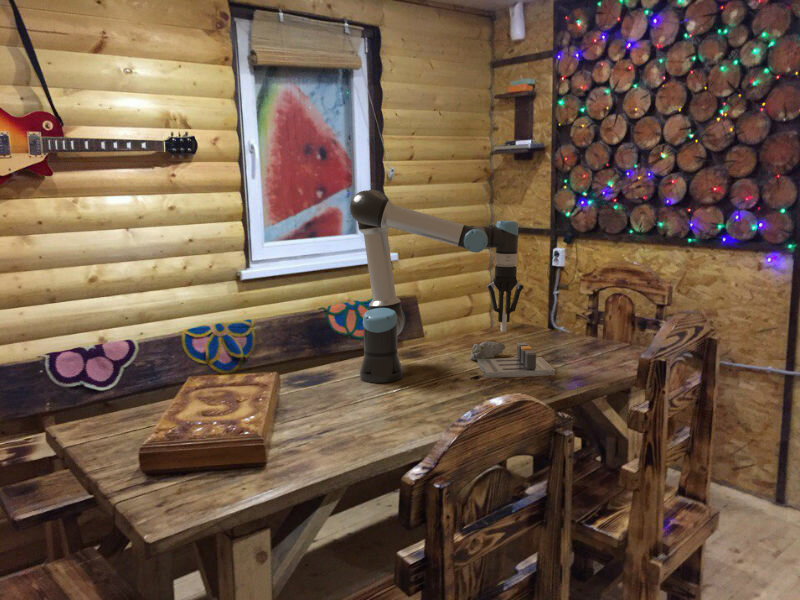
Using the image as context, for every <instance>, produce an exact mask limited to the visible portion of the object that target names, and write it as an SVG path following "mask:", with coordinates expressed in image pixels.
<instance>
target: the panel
mask: <svg viewBox="0 0 800 600" xmlns="http://www.w3.org/2000/svg"><path fill="white" fill-rule="evenodd" d="M477 366H478V368H479V369H480V371H481V372H482V374H483V375H484V377H485V378H486V379H497V378H499V379H500V378H519V377H520V378H521V377H522V378H523V377H524V378H525V377H544V376H545V377H547V376H549V375H552V376H556V369H555V368H554V367H553V366H552V365H551V364H549V363H548V361H546V360H545V359H544V358H543V357H542V356H536V369H527V368H526V367H525V365H523V364H522V363H521V361H519V360H518V359H517V357H509V358H487V359H478V360H477Z"/></svg>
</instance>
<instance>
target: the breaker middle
mask: <svg viewBox="0 0 800 600" xmlns="http://www.w3.org/2000/svg"><path fill="white" fill-rule="evenodd" d="M525 350H533V348H532V347H531V346H530V345H528V346H521V363H522V364H523V365H525Z"/></svg>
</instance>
